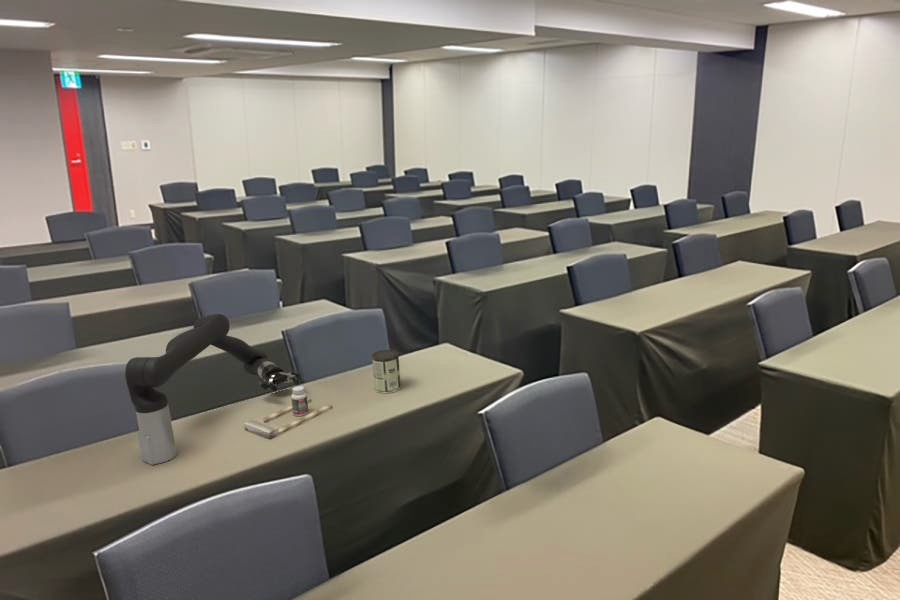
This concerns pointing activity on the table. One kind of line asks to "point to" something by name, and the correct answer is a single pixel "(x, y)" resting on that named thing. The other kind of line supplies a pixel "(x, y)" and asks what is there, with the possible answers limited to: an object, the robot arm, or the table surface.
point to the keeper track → (271, 431)
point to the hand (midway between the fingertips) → (286, 385)
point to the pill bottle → (299, 401)
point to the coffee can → (386, 371)
